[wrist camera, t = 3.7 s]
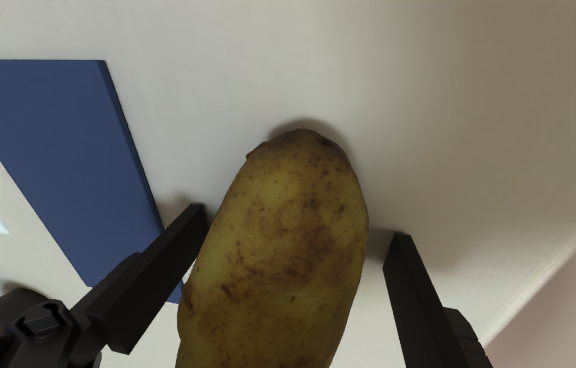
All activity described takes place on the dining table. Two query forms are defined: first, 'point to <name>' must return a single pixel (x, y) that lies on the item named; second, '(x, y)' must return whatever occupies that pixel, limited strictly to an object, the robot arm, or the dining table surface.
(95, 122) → the blue board
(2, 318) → the mug
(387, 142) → the dining table surface
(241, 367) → the potato
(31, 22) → the dining table surface
